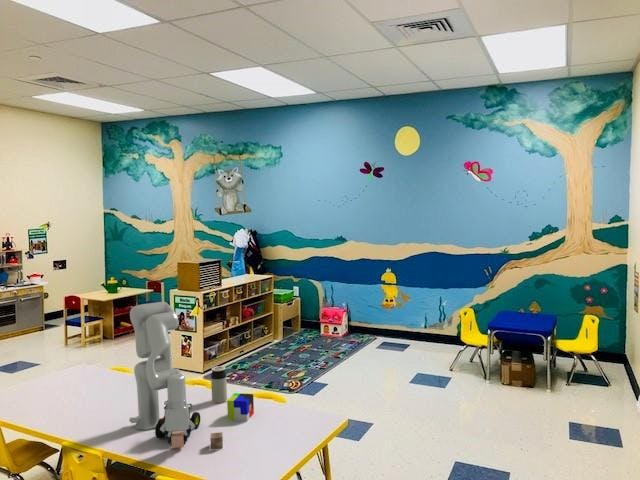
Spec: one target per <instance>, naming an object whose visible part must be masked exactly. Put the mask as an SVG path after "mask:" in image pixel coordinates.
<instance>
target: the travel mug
mask: <svg viewBox="0 0 640 480" xmlns="http://www.w3.org/2000/svg"><path fill="white" fill-rule="evenodd" d="M210 379H211V380H210V381H211V383H210V384H211V402H212V403H214V404H222V403H225V402H227V400H228V388H227V373H226V367H225V366H222V365H218V366H213V367H212V368H211V373H210Z"/></svg>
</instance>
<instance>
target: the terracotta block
mask: <svg viewBox="0 0 640 480" xmlns="http://www.w3.org/2000/svg"><path fill="white" fill-rule="evenodd" d="M171 443H172V446H171V448H172V449H175V448H184V447H185V445H184V432H183V431H173V432H172V436H171Z"/></svg>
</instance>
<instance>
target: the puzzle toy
mask: <svg viewBox="0 0 640 480" xmlns="http://www.w3.org/2000/svg"><path fill="white" fill-rule="evenodd" d="M226 404H227V407H226V409H227V420H228V421H238V422H248V421H249V420H250V419H251V418H252V416H253V415H254V414H255V410H254V409H255V408H254V407H255V406H254V394H253V393H241V392H239V393H238V392H234V393H233V394H232V395H231V396H230V397H229V398H227V401H226Z"/></svg>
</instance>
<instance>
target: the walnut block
mask: <svg viewBox="0 0 640 480" xmlns="http://www.w3.org/2000/svg"><path fill="white" fill-rule="evenodd" d="M209 439H210V444H211V450H212V449H222V448H223V442H224V441H223V431H222V432H221V431H219V432H213V433H211V432H210V438H209ZM222 450H223V449H222ZM212 451H213V450H212Z"/></svg>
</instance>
